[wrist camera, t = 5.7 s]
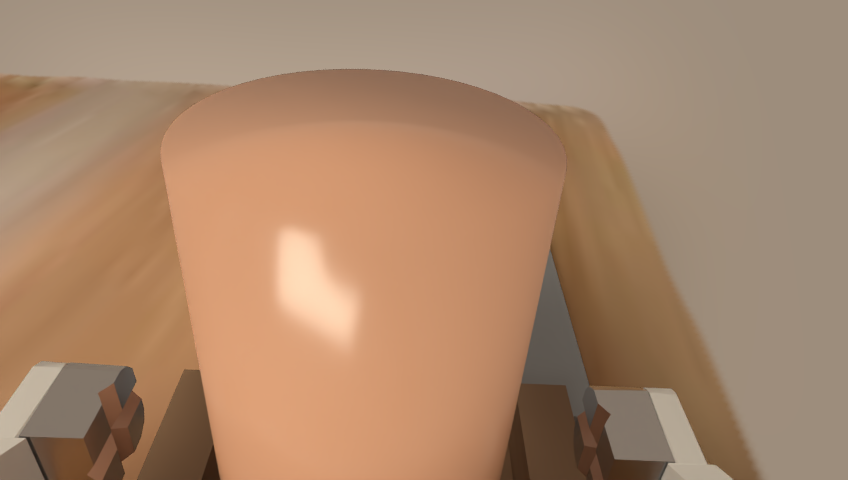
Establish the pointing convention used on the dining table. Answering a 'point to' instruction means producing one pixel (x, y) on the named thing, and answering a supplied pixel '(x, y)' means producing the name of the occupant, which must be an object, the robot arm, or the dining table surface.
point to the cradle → (522, 471)
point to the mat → (555, 344)
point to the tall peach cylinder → (361, 270)
